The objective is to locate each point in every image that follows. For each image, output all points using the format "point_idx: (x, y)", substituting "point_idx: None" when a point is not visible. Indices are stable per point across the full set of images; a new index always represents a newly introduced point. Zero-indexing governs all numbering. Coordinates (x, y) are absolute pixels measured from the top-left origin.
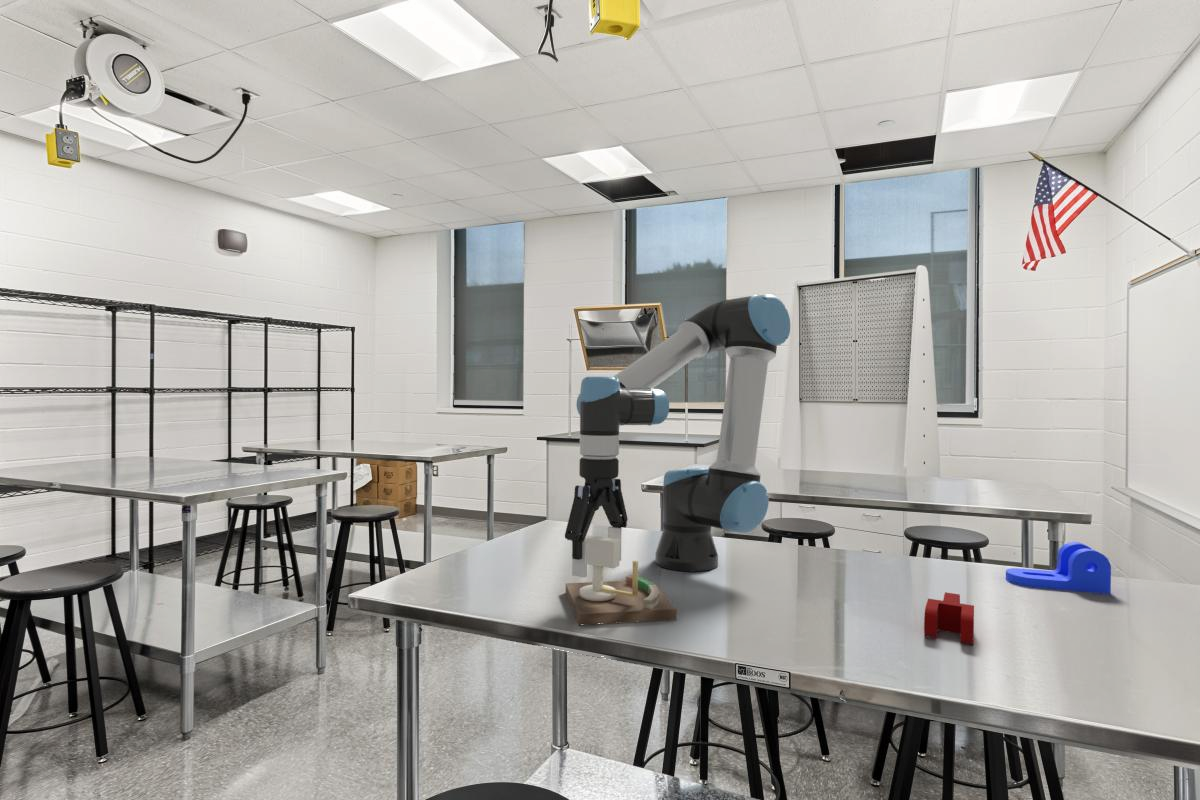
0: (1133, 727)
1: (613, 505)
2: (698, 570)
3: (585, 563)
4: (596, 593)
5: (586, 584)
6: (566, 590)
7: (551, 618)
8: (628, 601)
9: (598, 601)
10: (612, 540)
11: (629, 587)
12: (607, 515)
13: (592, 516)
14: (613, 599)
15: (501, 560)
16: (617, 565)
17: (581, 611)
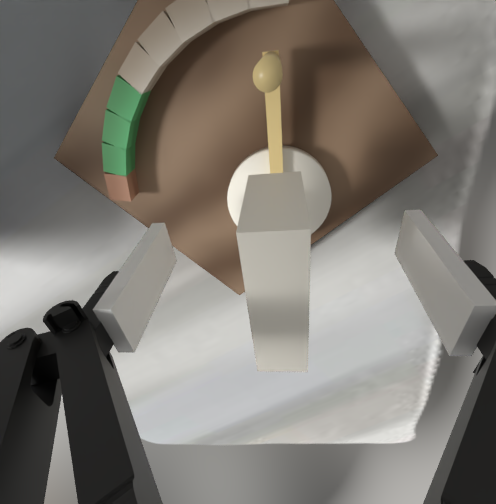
0: None
1: (111, 474)
2: None
3: (437, 237)
4: (307, 189)
5: (215, 261)
6: None
7: (399, 223)
8: (263, 95)
9: None
10: (281, 249)
11: (155, 168)
12: (128, 409)
13: (474, 451)
14: None
15: (179, 410)
16: (263, 175)
17: (413, 161)
